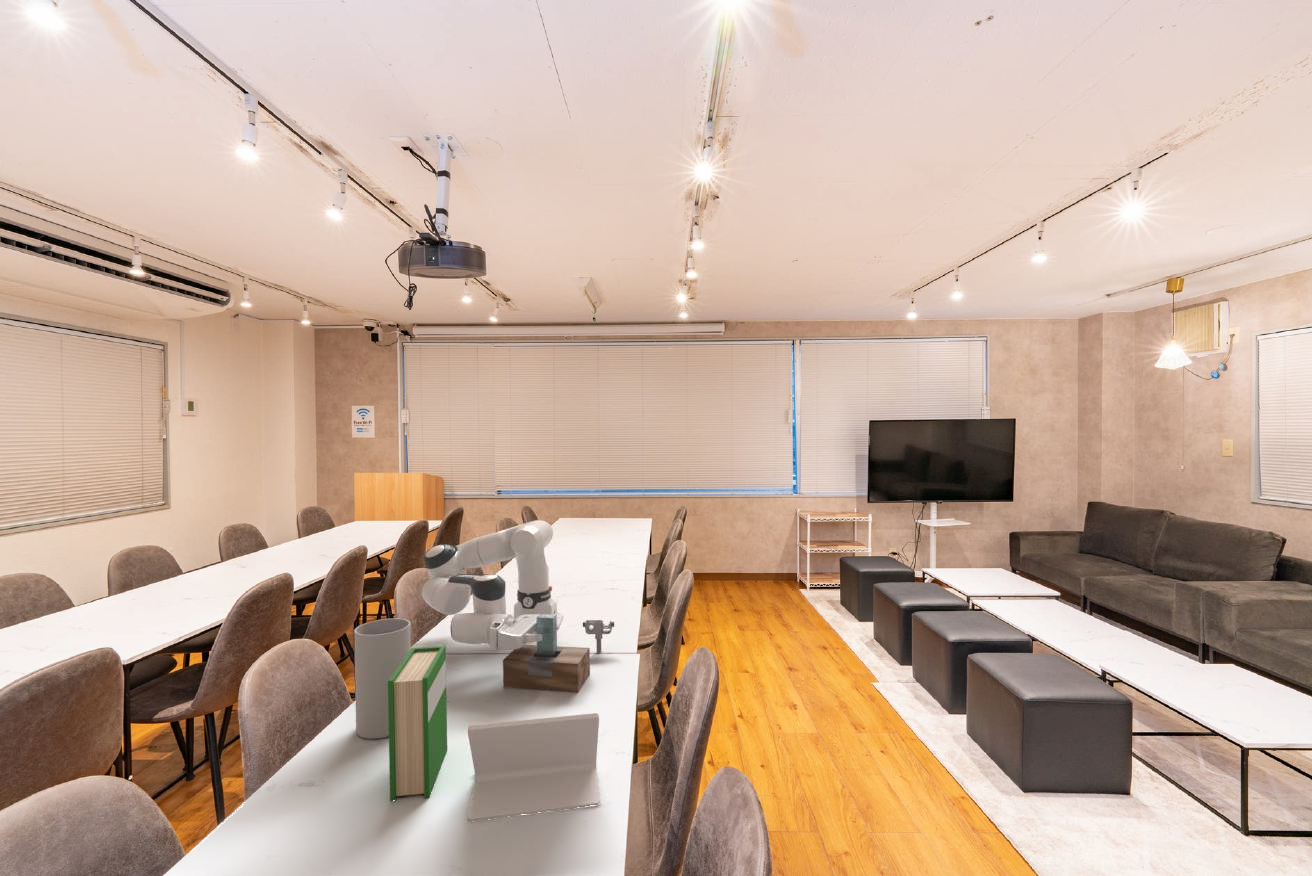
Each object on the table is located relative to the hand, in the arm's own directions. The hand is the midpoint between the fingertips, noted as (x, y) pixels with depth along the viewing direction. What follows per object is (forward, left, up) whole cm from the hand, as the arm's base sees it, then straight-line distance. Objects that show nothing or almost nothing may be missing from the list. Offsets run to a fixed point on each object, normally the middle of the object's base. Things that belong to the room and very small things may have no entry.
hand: (548, 631), depth 169 cm
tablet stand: (+48, +14, -15) cm, 53 cm away
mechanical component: (-24, +9, -15) cm, 29 cm away
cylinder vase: (+31, -31, -15) cm, 47 cm away
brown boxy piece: (0, 0, -14) cm, 15 cm away
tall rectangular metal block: (0, 0, -10) cm, 11 cm away
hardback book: (+48, -11, -15) cm, 51 cm away
